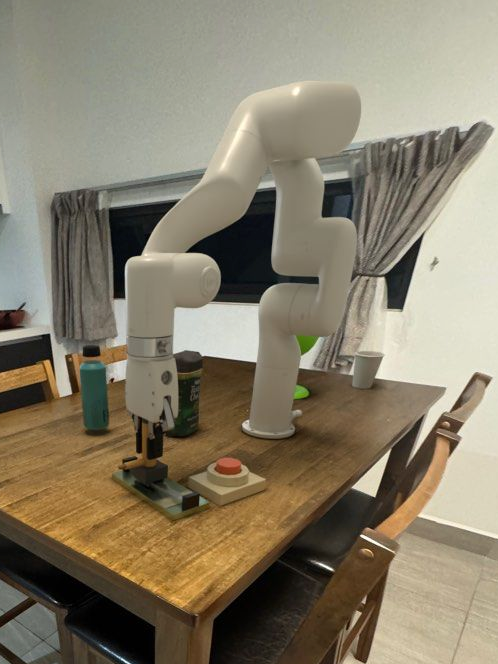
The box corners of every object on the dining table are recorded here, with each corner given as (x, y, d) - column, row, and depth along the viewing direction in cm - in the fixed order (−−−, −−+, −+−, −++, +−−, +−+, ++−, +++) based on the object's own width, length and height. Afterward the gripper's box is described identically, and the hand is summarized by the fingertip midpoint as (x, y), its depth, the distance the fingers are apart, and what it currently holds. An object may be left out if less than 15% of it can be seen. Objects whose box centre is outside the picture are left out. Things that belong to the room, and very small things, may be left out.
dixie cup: (374, 384, 146) (383, 351, 141) (376, 390, 140) (386, 356, 134) (347, 382, 149) (354, 350, 143) (347, 388, 142) (355, 355, 137)
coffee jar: (184, 440, 106) (188, 357, 96) (156, 434, 110) (157, 353, 99) (203, 428, 112) (209, 349, 102) (176, 423, 116) (179, 346, 106)
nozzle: (152, 472, 87) (152, 411, 81) (167, 481, 84) (169, 418, 77) (112, 483, 83) (110, 420, 77) (127, 493, 80) (125, 428, 73)
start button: (228, 464, 85) (229, 455, 84) (245, 472, 81) (246, 463, 81) (210, 469, 83) (211, 461, 82) (227, 478, 80) (228, 469, 79)
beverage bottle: (106, 436, 108) (102, 348, 98) (80, 435, 110) (73, 347, 99) (112, 427, 114) (109, 343, 103) (87, 426, 115) (81, 342, 104)
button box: (230, 473, 90) (233, 454, 88) (264, 490, 83) (267, 470, 81) (188, 487, 85) (189, 467, 83) (220, 506, 78) (222, 485, 76)
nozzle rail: (145, 469, 92) (145, 453, 90) (209, 508, 78) (211, 489, 76) (111, 479, 88) (111, 462, 86) (173, 521, 74) (173, 502, 72)
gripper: (200, 351, 67) (193, 465, 77) (141, 337, 79) (141, 438, 89) (160, 357, 64) (158, 475, 74) (104, 342, 76) (109, 445, 86)
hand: (149, 454), depth 81 cm, fingers closed on nozzle, 2 cm apart
